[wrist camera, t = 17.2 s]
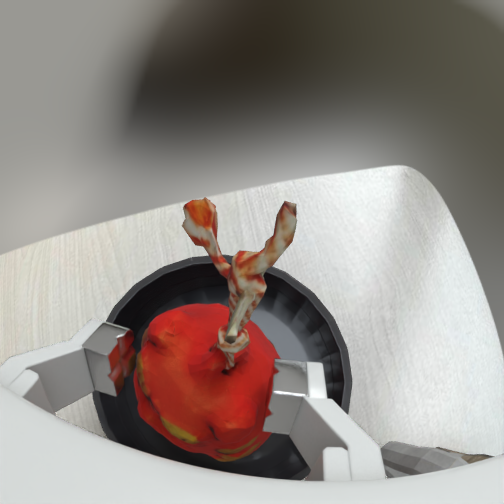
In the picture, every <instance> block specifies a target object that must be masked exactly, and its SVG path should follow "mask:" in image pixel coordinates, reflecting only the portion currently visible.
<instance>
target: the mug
mask: <svg viewBox="0 0 504 504" xmlns="http://www.w3.org/2000/svg"><path fill="white" fill-rule="evenodd" d="M380 450H381V455H382V459H383V464H384V469H385V474H386V476H388V477H389V478H397V477H405V476H412V475H419V474H425V473H430V472H436V471H441V470H446V469H450V468H455V467H459V466H463V465H467V464H471V463H475V462H478V461H482V460H485V459H488V458H492V457H495V456H490V455H485V454H476V455H469V454H464V453H460V452H455V451H451V450H447V449H443V448H440V447H436V448H428V447H418V446H414V445H409V444H405V443H400V442H388V443H387V444H386V445H384V446H383V447H382V448H381V449H380Z"/></svg>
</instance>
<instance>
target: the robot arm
mask: <svg viewBox="0 0 504 504" xmlns="http://www.w3.org/2000/svg"><path fill="white" fill-rule="evenodd" d="M133 341H134V334H133V331H132V330H131V329H129V328H125V327H122V326H118V325H115V324H112V323H109V322H105V321H102V320H98V319H95V318H94V319H90V320H89V321H88V322H87V323H86V324H85V325H84V326H83V327H82V328H81V329H80V330H79V331H78V332H77V333H76V334H75V335H74V336H73V337H72V338H71V339H70V340H69V341H68V342H66V341H62V342H59V343H56V344H52V345H49V346H46V347H42V348H39V349H36V350H32V351H29V352H26V353H22V354H19V355H15V356H12V357H9V358H8V359H7V360H6V361H5V362H4V363H3V364H2V365H1V366H0V504H504V454H501V455H498V456H495V457H492V458H488V459H485V460H482V461H478V462H475V463H471V464H467V465H463V466H459V467H455V468H450V469H446V470H441V471H436V472H430V473H425V474H419V475H412V476H405V477H397V478H387V479H386V474H385V469H384V464H383V459H382V455H381V450H380V446H379V445H378V444H377V443H376V442H375V441H374V440H373V439H372V438H371V437H370V436H369V435H368V434H367V433H366V432H365V431H364V430H363V429H362V428H361V427H360V426H359V425H358V424H356V423H355V422H354V421H353V420H352V419H351V418H350V417H349V416H348V415H347V414H346V413H345V412H344V411H343V410H342V409H341V408H340V407H339V406H338V405H337V404H336V403H335V402H334V401H333V400H332V399H327V392H326V385H325V377H324V370H323V364H322V363H319V362H307V361H306V362H303V361H294V360H286V359H278V358H274V360H273V364H272V370H271V377H270V378H269V383H268V388H267V393H266V401H265V406H266V409H265V413H264V419H263V430H262V431H265V432H272V433H279V434H287V435H289V436H290V438H291V439H292V441H293V443H294V444H295V446H296V447H297V449H298V450H299V452H300V453H301V455H302V457H303V458H304V460H305V461H306V463H307V464H308V466H309V467H310V469H311V471H310V473H309V475H308V476H307V478H306V480H305V481H301V480H285V479H274V478H264V477H255V476H248V475H241V474H234V473H228V472H222V471H217V470H212V469H207V468H202V467H197V466H193V465H189V464H185V463H181V462H177V461H173V460H169V459H165V458H162V457H158V456H155V455H152V454H149V453H145V452H142V451H139V450H136V449H133V448H130V447H127V446H125V445H122V444H119V443H116V442H114V441H111V440H109V439H106V438H104V437H101V436H99V435H96V434H94V433H91V432H89V431H87V430H85V429H82V428H80V427H78V426H76V425H74V424H71V423H69V422H67V421H65V420H63V419H61V418H59V417H57V416H56V414H55V412H56V411H58V410H60V409H62V408H64V407H66V406H68V405H70V404H71V403H73V402H75V401H77V400H79V399H81V398H82V397H84V396H86V395H88V394H90V393H92V392H93V391H95V390H97V391H100V392H103V393H106V394H109V395H112V396H115V397H117V395H118V394H119V392H120V390H121V389H122V387H123V386H124V378H126V377H128V376H130V375H131V373H132V371H133V369H134V366H135V363H136V350H135V349H134V348H133V346H132V345H131V344H132V342H133Z"/></svg>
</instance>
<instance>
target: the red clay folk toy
mask: <svg viewBox="0 0 504 504" xmlns="http://www.w3.org/2000/svg"><path fill="white" fill-rule="evenodd" d="M215 208H216V206H215V205H214V204H213V203H211V202H210V200H208V199H207V198H206V197H205V198H204V199H203V200H192V201H190V202H188V203H187V204H185V205H184V207H183V210H184V214H185V218H186V219H185V220H184V222H183V225H182V227H183V228H184V229H185V231H186V232H187V234H188V235H189V237H190V238H191V240H192V241H193V242H194V244H195V245H197V246H203V247H204V248H205V250H206V251H207V253H208V254H209V256H210V258H211V259H212V261H213V263H214V264H215V266H216V268H217V269H218V271H219V273H220V274H221V275H222V276H224V277H225V278H226V279H227V282H228V287H229V291H230V294H229V298H228V302H229V307H227V306H224V305H222V304H219V303H217V304H198V303H197V304H190V305H184V306H181V307H178V308H175V309H171V310H168V311H166V312H164V313H162V314H160V315H158V316H156V317H155V318H154V319H153V321H152V322H151V323H150V324H149V327H148V328H147V329H146V330H145V332H144V334H143V337H142V342H141V351H140V352H139V353H138V354H137V360H136V369H135V371H134V378H133V382H134V388H135V393H136V397H137V401H138V407H137V408H138V412H139V415H140V417H141V418H142V419H143V420H144V421H145V422H146V423H148V424H149V425H150V426H151V427H153V428H154V429H155V430H156V431H157V432H158V433H160V434H162V435H163V436H164V437H165V438H167V439H168V440H169V441H170V442H172V443H173V444H175V445H177V446H178V447H180V448H182V449H184V450H186V451H189V452H193V453H204V454H207V455H209V456H211V457H213V458H214V459H216V460H218V461H223V462H226V461H234V460H237V459H240V458H243V457H245V456H248V455H250V454H251V453H253V452H254V451H256V450H257V449H258V448H259V447H260V446H261V445H262V444H263V443H264V442H265V441H266V440H267V439H268V438H269V436H270V435H271V433H272V432H265V431H262V430H263V419H264V413H265V409H266V406H265V401H266V393H267V388H268V383H269V378H270V377H271V370H272V364H273V360H274V358H278V359H281V358H280V356H279V355H278V353H277V351H276V349H275V347H274V345H273V343H272V342H271V341H270V340H268V339H267V337H266V336H265V335H264V333H263V332H262V331H261V329H260V328H259V327H258V325H256V324H255V323H254V322H253V321H251V320H250V317H251V315H252V313H253V311H254V310H255V308H256V307H257V305H258V304H259V302H260V300H261V299H262V297H263V296H264V293H265V290H266V288H267V286H266V283H265V280H264V277H263V275H264V273H265V271H266V269H268V268H270V267H271V266H273V265H274V263H275V262H276V261H277V259H278V258H279V257H280V256H281V255H282V253H283V252H284V251H285V250H286V249H287V247H288V246H289V245H290V244H291V243H292V241H293V237H294V233H295V229H296V223H297V219H296V204H294V203H291V202H287V201H284V203H283V205H282V207H281V208H280V210H279V212H278V214H277V217H276V223H275V229H274V235H273V236H272V237H270V238H269V239H268V240H267V241H266V243H265V248H264V249H263V250H261V251H260V252H250V251H239V252H238V253H237V254H236V255H235V256H234V257H233V258H232V263H231V265H230V264H228V262H227V261H226V260H225V258H224V257H223V256H222V254H221V251H220V248H219V245H218V242H217V228H218V223H217V212H216V209H215Z"/></svg>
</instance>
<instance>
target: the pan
mask: <svg viewBox="0 0 504 504" xmlns="http://www.w3.org/2000/svg"><path fill="white" fill-rule="evenodd" d="M222 256H223V257H224V258H225V260H226V261H227V262H228V264H230V265H231V263H232V258H233V257H234V256H229V255H222ZM263 277H264V280H265V283H266V286H267V288H266V290H265V293H264V296H263V297H262V299H261V300H260V302H259V304H258V305H257V307H256V308H255V310H254V311H253V313H252V315H251V317H250V320H251V321H253V322H254V323H255V324H256V325H258V327H259V328H260V329H261V331H262V332H263V333H264V335H265V336H266V337H267V339H268V340H270V341H271V342H272V343H273V345H274V347H275V349H276V351H277V353H278V355H279V356H280V358H281V359H286V360H294V361H303V362H306V361H307V362H319V363H322V364H323V370H324V377H325V385H326V392H327V399H332V400H333V401H334V402H335V403H336V404H337V405H338V406H339V407H340V408H341V409H342V410H343V411H344V412H345V413H346V414H347V415H348V412H349V405H350V397H351V390H352V375H351V368H350V361H349V354H348V349H347V346H346V344H345V342H344V339H343V337H342V335H341V332H340V330H339V328H338V326H337V324H336V321H335V319H334V317H333V316H332V315H331V314H330V312H329V311H328V310H327V309H326V307H325V306H324V305H323V304H322V302H321V301H320V300H319V299H318V298H317V296H316V295H315V294H314V293H313V292H312V291H311V290H310V289H308V288H307V287H306V286H304V285H303V284H301V283H300V282H299V281H297V280H296V279H295V278H293V277H292V276H291V275H289V274H288V273H286V272H284V271H282V270H280V269H277V268H275V267H272V266H271V267H270V268H268V269H266V271H265V273H264V275H263ZM229 294H230V291H229V287H228V282H227V279H226V278H225V277H224V276H222V275H221V274H220V273H219V271H218V269H217V268H216V266H215V264H214V263H213V261H212V259H211V258H210V256H201V257H192V258H188V259H185V260H182V261H179V262H176V263H173V264H170V265H167V266H164V267H162V268H160V269H158V270H157V271H155V272H154V273H152V274H150V275H149V276H147V277H146V278H144V279H143V280H141V281H139V282H138V283H136V284H135V285H134V286H133V287H132V288H131V289H130V290H129V291H128V292H127V293H126V294H125V296H124V297H123V298H122V299H121V300H120V301H119V302H118V303H117V304H116V305H115V306H114V308H113V309H112V311H111V313H110V315H109V317H108V318H107V320H106V322H109V323H112V324H115V325H118V326H122V327H125V328H129V329H131V330H132V331H133V334H134V341H133V342H132V344H131V345H132V346H133V348H134V349H135V350H136V360H137V354H138V353H139V352H140V351H141V342H142V337H143V334H144V332H145V330H146V329H147V328H148V327H149V324H150V323H151V322H152V321H153V319H154V318H155V317H156V316H158V315H160V314H162V313H164V312H166V311H168V310H171V309H175V308H178V307H181V306H184V305H190V304H197V303H198V304H217V303H219V304H222V305H224V306H227V307H229V302H228V298H229ZM135 369H136V363H135V366H134V369H133V371H132V373H131V375H130V376H128V377H126V378H124V386H123V387H122V389H121V390H120V392H119V394H118V395H117V397H115V396H112V395H109V394H106V393H103V392H100V391H97V390H95V391H93V392H92V394H93V400H94V404H95V407H96V410H97V414H98V417H99V420H100V423H101V426H102V428H103V431H104V432H105V434H106V436H107V437H108V439H109V440H111V441H114V442H116V443H119V444H122V445H125V446H127V447H130V448H133V449H136V450H139V451H142V452H145V453H149V454H152V455H155V456H158V457H162V458H165V459H169V460H173V461H177V462H181V463H185V464H189V465H193V466H197V467H202V468H207V469H212V470H217V471H222V472H228V473H234V474H241V475H248V476H255V477H264V478H274V479H285V480H302V479H304V478H305V477H306V476H308V475H309V473H310V471H311V469H310V467H309V466H308V464H307V463H306V461H305V460H304V458H303V457H302V455H301V453H300V452H299V450H298V449H297V447H296V446H295V444H294V443H293V441H292V439H291V438H290V436H289V435H287V434H279V433H271V435H270V436H269V438H268V439H267V440H266V441H265V442H264V443H263V444H262V445H261V446H260V447H259V448H258V449H257V450H256V451H254V452H253V453H251V454H250V455H248V456H245V457H243V458H240V459H237V460H234V461H226V462H223V461H218V460H216V459H214V458H213V457H211V456H209V455H207V454H204V453H193V452H189V451H186V450H184V449H182V448H180V447H178V446H177V445H175V444H173V443H172V442H170V441H169V440H168V439H167V438H165V437H164V436H163V435H162V434H160V433H158V432H157V431H156V430H155V429H154V428H153V427H151V426H150V425H149V424H148V423H146V422H145V421H144V420H143V419H142V418H141V417H140V415H139V412H138V408H137V407H138V401H137V397H136V393H135V388H134V382H133V378H134V371H135Z"/></svg>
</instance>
